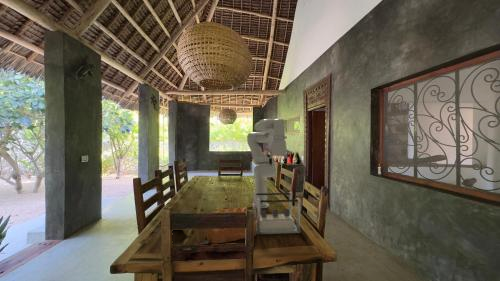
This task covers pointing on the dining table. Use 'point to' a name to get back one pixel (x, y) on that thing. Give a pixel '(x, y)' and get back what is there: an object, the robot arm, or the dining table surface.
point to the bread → (227, 230)
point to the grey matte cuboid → (286, 212)
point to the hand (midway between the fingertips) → (278, 164)
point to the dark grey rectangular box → (275, 213)
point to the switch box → (276, 222)
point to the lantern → (199, 235)
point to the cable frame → (296, 228)
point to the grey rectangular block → (263, 213)
